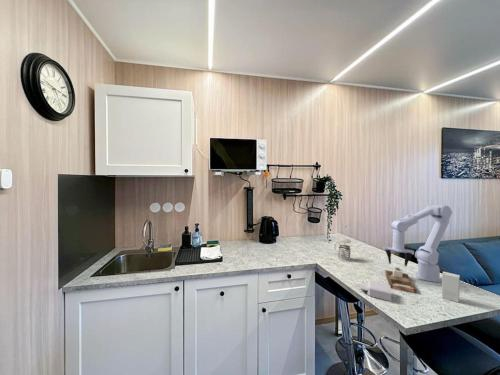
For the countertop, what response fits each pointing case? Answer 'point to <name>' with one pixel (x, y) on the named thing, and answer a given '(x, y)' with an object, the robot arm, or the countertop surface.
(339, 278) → the countertop surface
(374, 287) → the charger
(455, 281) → the skincare box
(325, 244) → the countertop surface
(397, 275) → the plug
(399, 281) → the socket holder
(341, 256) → the french press
